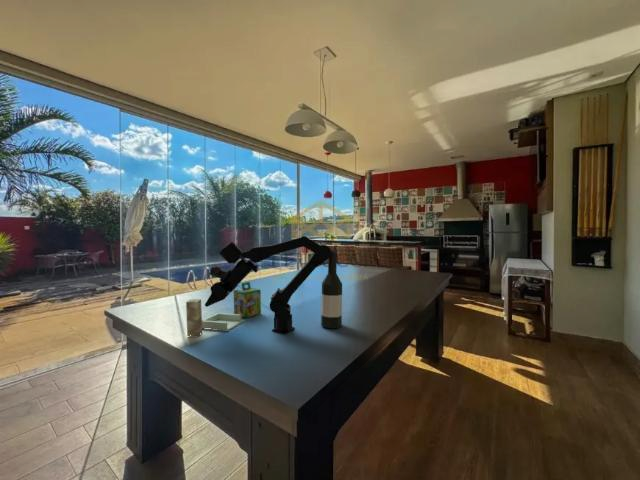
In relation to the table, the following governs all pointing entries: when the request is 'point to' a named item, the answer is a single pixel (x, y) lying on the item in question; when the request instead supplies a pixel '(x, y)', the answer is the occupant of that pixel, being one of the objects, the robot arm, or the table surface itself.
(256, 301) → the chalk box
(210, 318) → the tray
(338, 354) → the table surface
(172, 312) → the table surface
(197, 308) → the post
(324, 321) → the wine bottle
